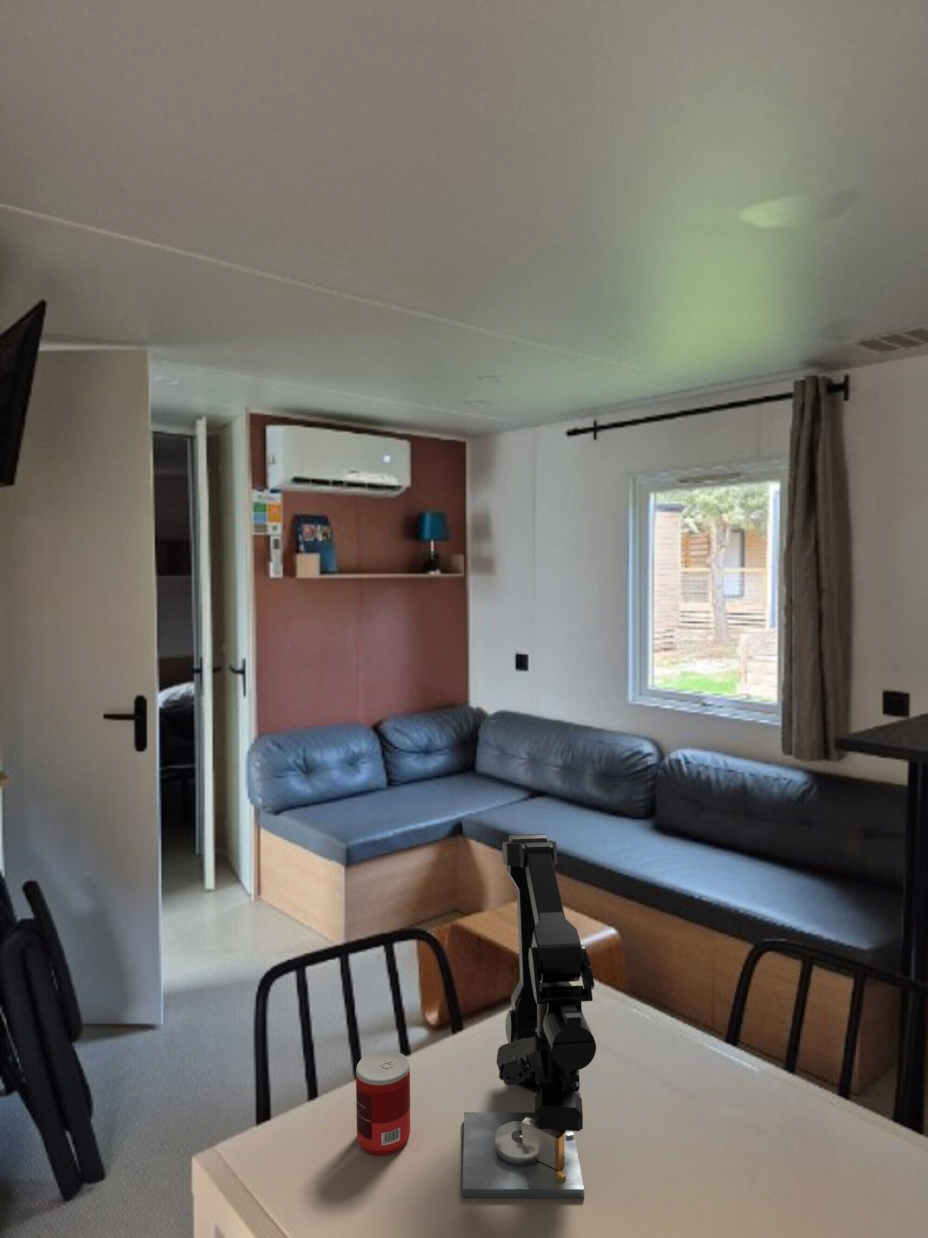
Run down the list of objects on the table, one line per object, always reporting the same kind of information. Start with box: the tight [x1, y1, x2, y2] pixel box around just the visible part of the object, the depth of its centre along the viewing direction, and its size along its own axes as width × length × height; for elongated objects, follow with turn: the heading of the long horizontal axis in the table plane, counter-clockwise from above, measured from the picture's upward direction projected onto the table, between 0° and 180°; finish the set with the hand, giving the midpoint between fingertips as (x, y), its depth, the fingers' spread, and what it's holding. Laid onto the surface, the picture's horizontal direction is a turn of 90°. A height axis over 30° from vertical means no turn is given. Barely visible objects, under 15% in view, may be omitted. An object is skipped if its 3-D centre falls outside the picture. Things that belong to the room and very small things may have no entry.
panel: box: [462, 1111, 585, 1199], centre depth 116 cm, size 16×16×2 cm
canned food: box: [355, 1050, 411, 1156], centre depth 120 cm, size 8×8×11 cm
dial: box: [495, 1117, 565, 1171], centre depth 115 cm, size 10×7×4 cm
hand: (558, 1137), depth 115 cm, fingers closed
